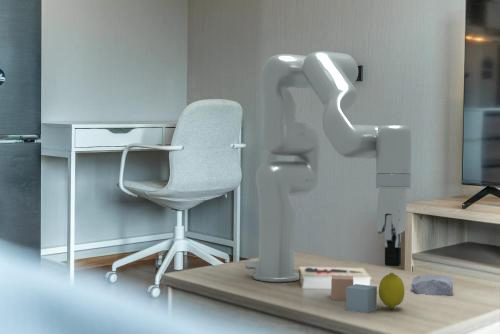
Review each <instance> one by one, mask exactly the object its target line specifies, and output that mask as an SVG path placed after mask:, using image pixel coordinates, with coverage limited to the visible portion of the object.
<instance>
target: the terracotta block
mask: <svg viewBox="0 0 500 334" xmlns="http://www.w3.org/2000/svg"><path fill="white" fill-rule="evenodd" d="M352 285H354V275H337V274H335V275H334V274H332V275H331V291H330V293H331V294H330V297H331V298H330V300H331V301H345V302H346V287H349V286H352Z"/></svg>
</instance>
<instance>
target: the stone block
mask: <svg viewBox="0 0 500 334" xmlns="http://www.w3.org/2000/svg"><path fill="white" fill-rule="evenodd" d="M410 285H411V288H412V292H413V293H415V294H417V295H420V294H425V295H424V296H442V295H447V296H449V297H451V296H453V294H454V293H453V290H454V289H453V287H454V282H453V278H451V275H438V274H424V275H418V276H414V277H413V279H412V281H411V284H410Z"/></svg>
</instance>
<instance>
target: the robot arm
mask: <svg viewBox="0 0 500 334" xmlns="http://www.w3.org/2000/svg"><path fill="white" fill-rule="evenodd" d="M358 76H359V67H358V64H357V61H356V60H355V58H353V57H352V56H351V55H350V54H348V53H342V52H335V51H334V52H332V51H323V50H322V51H320V50H319V51H314V52H311V53H309V54H308V55H300V54H292V53H291V54H289V53H282V54H275V55H273V56H270V57H269V58H268V59H267V60H266V61H265V63H264V65H263V67H262V70H261V75H260V85H261V93H262V97H263V118H262V119H263V120H262V121H263V122H262V125H263V126H262V143H263V144H262V145H263V149H264V151H265V152H266V153H267V154H268V155H271V156H280V157H281V156H282V157H293V158H294V160H271V161H266V162H264V163H262V164H260V166H259V167H258V168H257V170H256V173H255V184H256V189H257V194H258V195H257V196H258V206H259V207H258V210H259V211H258V213H259V217H258V223H259V224H258V225H259V226H258V228H259V229H258V230H259V232H258V234H259V235H258V236H259V237H258V238H259V239H258V243H259V244H258V260H256V261H248V260H247V261H246V262H245V267H244V268H246V269H247V270H254V271H255V272H254V273H253V274H252V278H253V279H254V280H256V281H261V282H270V283H287V282H295V281H298V280H299V274H300V273H299V272H296V271H295V238H296V237H295V234H296V233H295V231H296V230H295V229H296V228H295V227H296V225H295V221H296V218H295V217H296V215H295V209H294V207H293V204H292V203H291V201H290V200H289V197H297V196H298V197H299V196H308V195H312V193H314V192H315V191H316V189H317V187H318V183H319V176H320V174H319V173H320V149H321V147H320V145H321V144H320V143H321V141H320V135H319V131H318V129H317V127H316V126H315V125H314V124H313V123H311V122H310V121H306V120H305V121H304V120H296V109H297V108H296V107H297V106H296V101H295V99H294V96H293V94H292V93H291V91H290V89H288V88H296V89H297V88H298V89H309V90H312V91H314V93H315V94H316V96H317V98H318V99H319V100H320V102H321V104H322V105H323V107H324V109H323V112H322V129H323V132H324V135H325V136H326V138H327V140H328V141H329V143H330V144H331V145H332V147H333V149H334V150H335V151H336V152H337V154H339V155H340V156H341V157H343V158H347V159H370V160H371V159H374V160H375V189H378V196H377V208H376V210H377V211H376V225H375V226H376V230H375V231H376V233H377V234H379V235H381V234H383V233H384V265H385V266H386V267H400V266H401V264H402V247H401V244H402V243H401V242H402V233H404V232H405V231H406V228H407V190H410V189H412V131H411V128H410V127H409V126H408V125H402V124H400V125H399V124H395V125H394V124H388V125H372V124H371V125H370V124H352V123H351V122H350V121H349V120H348V119H347V117H346V115H345V114H344V113H345V112H347V111H348V110H349V109H351V108H352V107H353V106H354V104H355V102H356V101H357V98H358V91H357V88H356V87H355V86H354V84H355V83H356V82H357V79H358Z"/></svg>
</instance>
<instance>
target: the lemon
mask: <svg viewBox="0 0 500 334" xmlns="http://www.w3.org/2000/svg"><path fill="white" fill-rule="evenodd" d="M378 296H379V299H380V301H381V302H382V304H384V305H385V306H387V307H388V308H389V310H393V309H394V308H395V307H397V306H399V305H400V304H401V303H402V302H403V300H404V297H405V285H404V282H403V279H401V277H400V276H398V275H396V274H395V273H394V272H390V273H389V274H386V275H385V276H383V277H382V278H381V280H380V282H379V286H378Z"/></svg>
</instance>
